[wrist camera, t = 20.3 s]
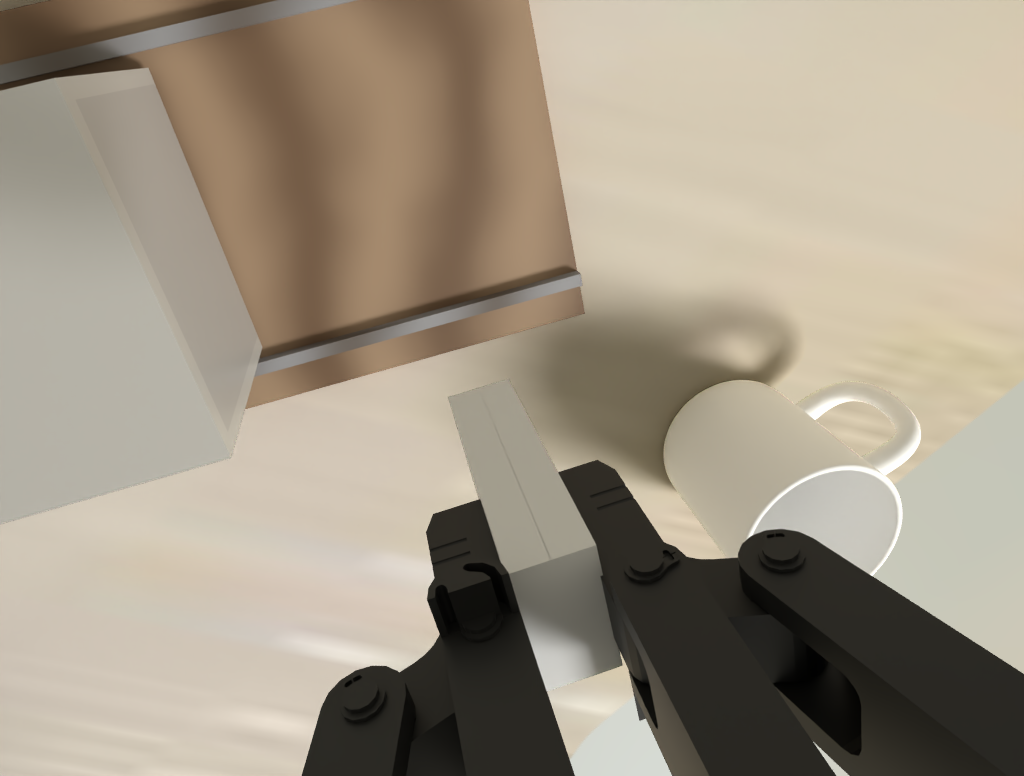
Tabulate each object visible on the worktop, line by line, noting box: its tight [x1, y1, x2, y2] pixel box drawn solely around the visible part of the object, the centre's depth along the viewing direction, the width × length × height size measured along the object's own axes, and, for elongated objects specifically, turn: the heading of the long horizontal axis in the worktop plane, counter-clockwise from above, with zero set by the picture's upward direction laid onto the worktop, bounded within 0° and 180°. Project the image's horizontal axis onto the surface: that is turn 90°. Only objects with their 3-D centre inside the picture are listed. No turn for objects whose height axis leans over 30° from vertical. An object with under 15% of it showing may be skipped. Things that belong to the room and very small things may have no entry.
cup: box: [664, 380, 921, 576], centre depth 39 cm, size 8×12×10 cm
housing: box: [0, 68, 262, 524], centre depth 26 cm, size 10×12×10 cm
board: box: [0, 0, 585, 409], centre depth 31 cm, size 24×18×3 cm
